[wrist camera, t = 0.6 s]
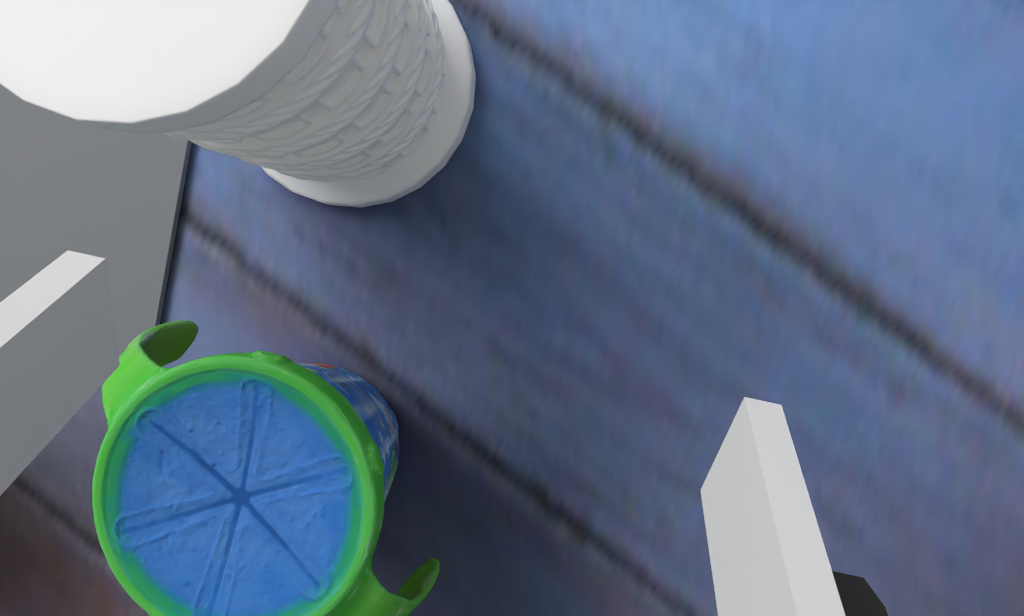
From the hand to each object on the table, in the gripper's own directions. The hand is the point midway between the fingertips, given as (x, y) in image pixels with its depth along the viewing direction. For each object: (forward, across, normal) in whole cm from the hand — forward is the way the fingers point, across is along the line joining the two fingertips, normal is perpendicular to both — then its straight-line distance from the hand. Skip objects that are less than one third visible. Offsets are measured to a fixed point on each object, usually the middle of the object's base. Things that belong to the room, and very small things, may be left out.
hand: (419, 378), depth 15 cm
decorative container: (+23, +8, +2) cm, 24 cm away
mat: (+19, +21, +11) cm, 30 cm away
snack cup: (+14, +6, +17) cm, 23 cm away
